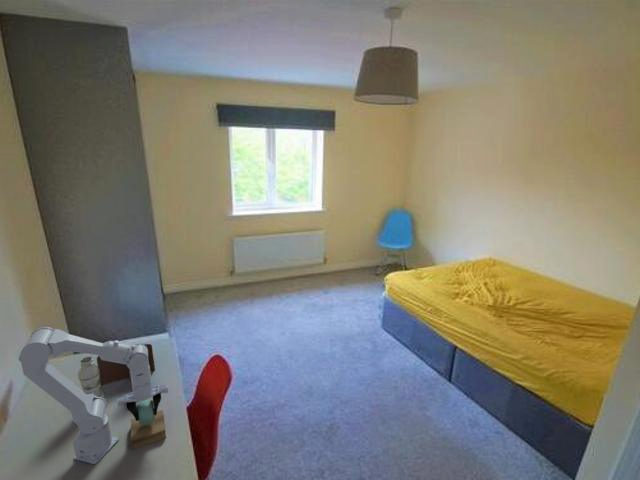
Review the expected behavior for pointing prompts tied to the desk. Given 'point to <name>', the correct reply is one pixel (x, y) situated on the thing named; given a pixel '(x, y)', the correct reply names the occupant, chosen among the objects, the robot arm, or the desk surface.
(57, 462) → the desk surface
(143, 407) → the teal tapered rounded part
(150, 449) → the desk surface
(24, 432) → the desk surface
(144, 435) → the block
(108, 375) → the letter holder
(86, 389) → the plastic bottle
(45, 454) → the desk surface
